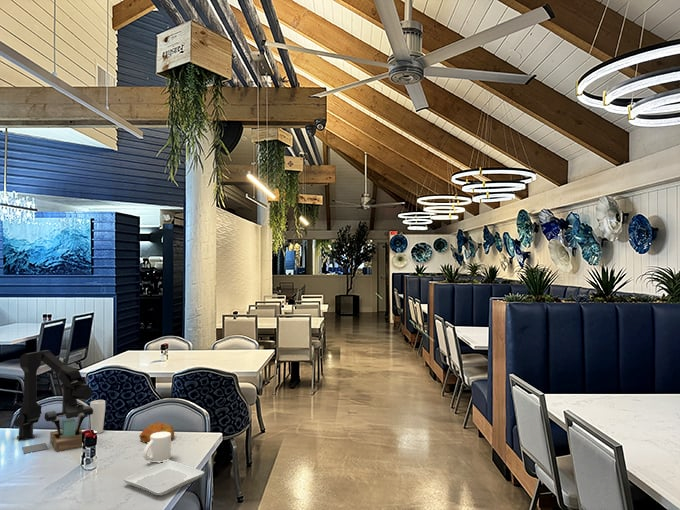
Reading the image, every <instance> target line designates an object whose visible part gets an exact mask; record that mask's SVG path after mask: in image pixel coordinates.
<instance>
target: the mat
mask: <svg viewBox="0 0 680 510" xmlns="http://www.w3.org/2000/svg"><path fill="white" fill-rule="evenodd" d="M21 449H22V453H23V454H24V455H25V454H26V455H27V454H31V452H32V453H36V452H43V451H47V450H49V446H48V445H47V443H46V442H41V443H37V444H31V445H25V446H22V447H21Z"/></svg>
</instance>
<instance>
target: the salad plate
mask: <svg viewBox="0 0 680 510" xmlns="http://www.w3.org/2000/svg"><path fill="white" fill-rule="evenodd" d="M166 469H171V470H175V471H179V472H181V473H184V474H186V475H187V477H186V478H184V481H183V482H181V483H179V484H177V485H175V486H173V487H171V488H169V489H167V490H165V491H163V492H155V491H153V490H151V489H149V488H147V487H144V486H142V485H140V484H137V483H136V482H137V481H138V480H141V479H143V478H144V477H147V476H151V475H155V474H157V473H159V472H161V471H163V470H166ZM204 474H205V471H203V470H201V469H197V468H195V467H192V466H188V465H186V464H183V463H180V462H177V461H175V460H171V459H170V460H168V461H165V462H163V463H157V464H155V465H152V466H151V467H147V468H146V469H143V470H140V471H138V472H136V473H133V474H131V475H129V476H126V477H124V478H123V479H122V480H123V482H125V483H126V484H128V485H130V486H133V487H135V488H138V489H140V488H141V489H140V490H142V491H145V490H146V492H148V491H149V492H148V493H150V492H151V494H152V495H154V496H157V495H161V496H164V495H166V493H167V494H168V492H169V493H170V491H171V492H173V491H175V490H177V489H179V488H181V486H182V487H184V486H186V485H187V484H190V483H192V482H195V481H196V480H198V479H200V478H201V477H202V476H203V475H204ZM178 487H179V488H178ZM176 488H177V489H176ZM174 489H175V490H174ZM172 490H173V491H172ZM163 494H164V495H163Z"/></svg>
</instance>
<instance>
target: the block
mask: <svg viewBox="0 0 680 510" xmlns="http://www.w3.org/2000/svg"><path fill="white" fill-rule="evenodd" d="M61 422H62V424H61V426H62V429H61V430H62V437H63V438H64V437H69V436H75V428H76V426H77V423H76V419H75V418H70V419H65V420H62V421H61Z"/></svg>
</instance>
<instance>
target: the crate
mask: <svg viewBox="0 0 680 510" xmlns="http://www.w3.org/2000/svg"><path fill="white" fill-rule="evenodd" d="M82 432H83V430H82V428H81V427H80V428H79V431H77V426H75V436H69V437H64V438H63V437H62V429H60V434H59V433H58V431H57V430H53V431H50V439H49V443H50V445H51V446H52V447H53V450H54V451H55V453H60V451H61V452H64V451H65V450H66V451H70V450H71V451H72V450H74V449H81V448H83V447H82Z"/></svg>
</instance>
